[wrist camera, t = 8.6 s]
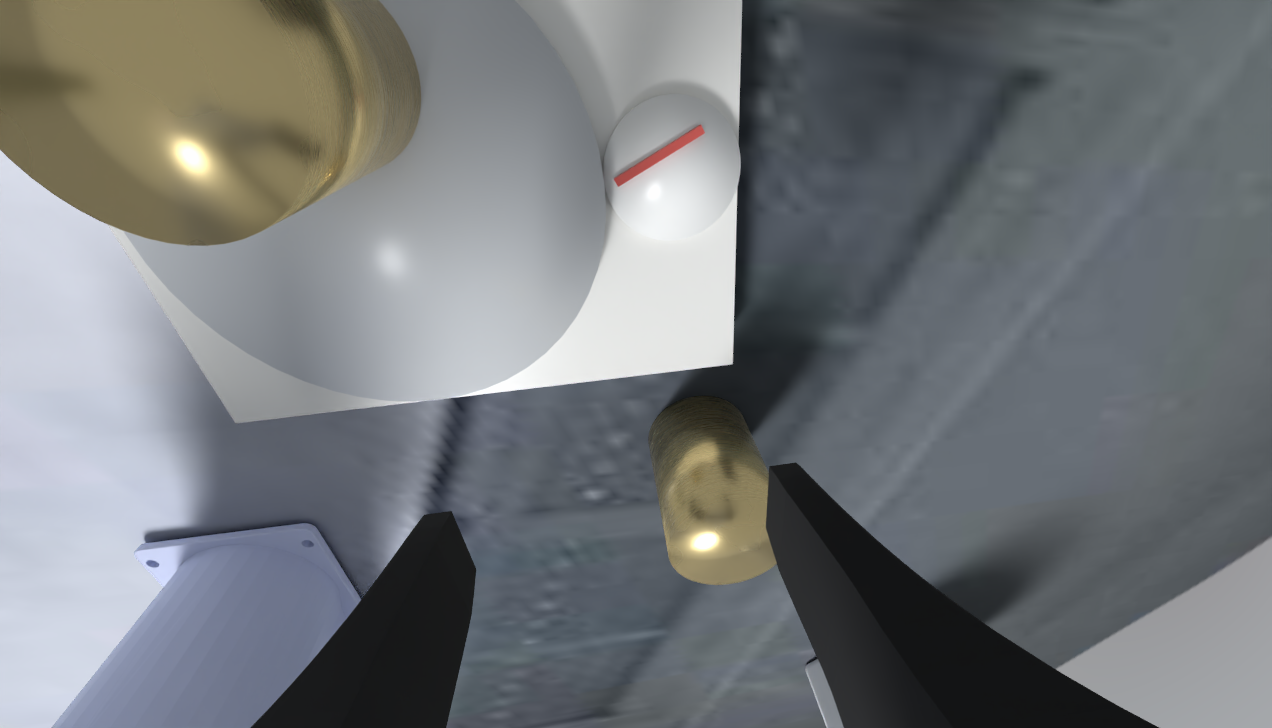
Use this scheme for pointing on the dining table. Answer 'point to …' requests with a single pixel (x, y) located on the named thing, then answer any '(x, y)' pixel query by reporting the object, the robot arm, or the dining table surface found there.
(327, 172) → the cylinder
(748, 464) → the cylinder
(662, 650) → the dining table surface
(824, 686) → the medicine bottle
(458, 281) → the kitchen scale
